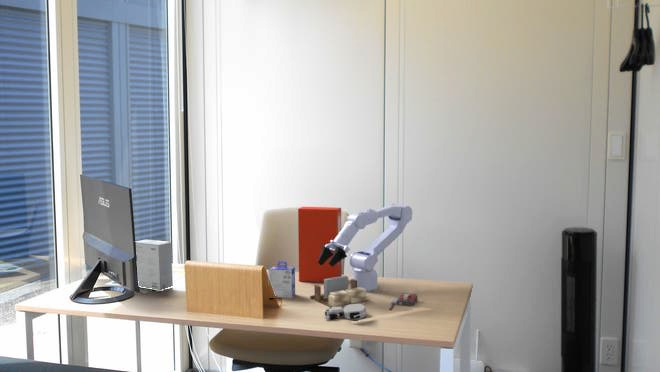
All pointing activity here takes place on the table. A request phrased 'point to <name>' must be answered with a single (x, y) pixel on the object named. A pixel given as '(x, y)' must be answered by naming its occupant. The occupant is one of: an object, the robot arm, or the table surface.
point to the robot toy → (346, 312)
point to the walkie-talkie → (404, 300)
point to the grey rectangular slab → (335, 284)
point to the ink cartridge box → (283, 280)
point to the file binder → (317, 242)
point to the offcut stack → (347, 296)
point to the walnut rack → (325, 300)
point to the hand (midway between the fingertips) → (324, 264)
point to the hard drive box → (154, 264)
